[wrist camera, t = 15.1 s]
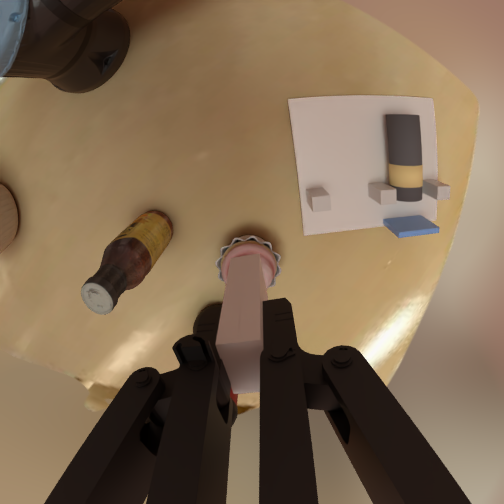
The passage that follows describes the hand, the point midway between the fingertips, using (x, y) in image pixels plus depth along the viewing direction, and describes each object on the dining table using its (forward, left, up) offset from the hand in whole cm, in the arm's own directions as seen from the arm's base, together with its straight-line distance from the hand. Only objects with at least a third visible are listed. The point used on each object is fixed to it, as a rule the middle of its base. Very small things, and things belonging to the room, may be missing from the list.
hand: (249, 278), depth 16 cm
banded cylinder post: (-2, +22, -27) cm, 35 cm away
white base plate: (-1, +17, -28) cm, 33 cm away
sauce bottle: (+5, -17, -28) cm, 33 cm away
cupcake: (+11, -3, -29) cm, 31 cm away
